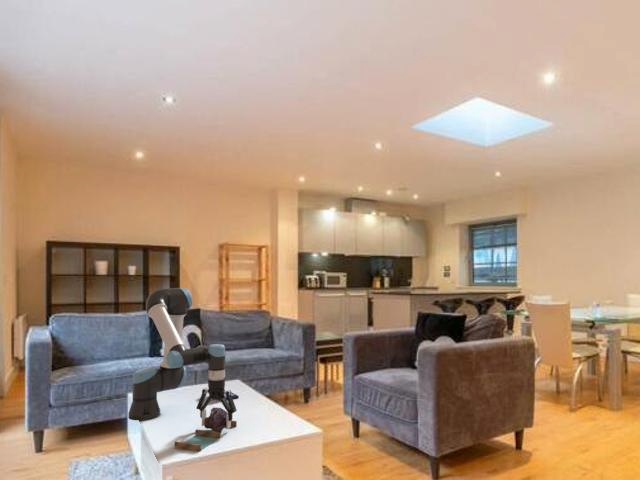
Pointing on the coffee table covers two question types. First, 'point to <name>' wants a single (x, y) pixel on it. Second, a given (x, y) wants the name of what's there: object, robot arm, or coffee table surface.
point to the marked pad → (201, 441)
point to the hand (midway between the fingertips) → (216, 426)
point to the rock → (216, 419)
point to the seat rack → (204, 434)
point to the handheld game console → (233, 396)
